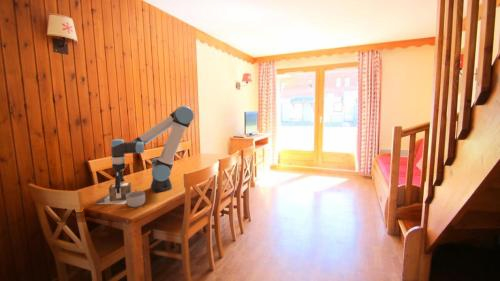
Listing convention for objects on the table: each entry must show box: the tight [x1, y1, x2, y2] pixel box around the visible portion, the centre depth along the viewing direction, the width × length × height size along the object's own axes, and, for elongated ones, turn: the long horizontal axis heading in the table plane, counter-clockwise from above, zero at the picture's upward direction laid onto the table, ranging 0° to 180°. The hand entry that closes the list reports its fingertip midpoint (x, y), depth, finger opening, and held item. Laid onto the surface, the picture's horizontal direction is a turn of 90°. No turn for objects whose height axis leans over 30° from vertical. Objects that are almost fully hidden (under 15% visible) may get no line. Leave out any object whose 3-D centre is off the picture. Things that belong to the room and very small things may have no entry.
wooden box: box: [108, 182, 132, 201], centre depth 167 cm, size 12×8×9 cm, turn 109°
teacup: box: [126, 190, 146, 208], centre depth 157 cm, size 14×11×8 cm
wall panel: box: [94, 193, 127, 205], centre depth 168 cm, size 18×20×2 cm
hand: (120, 194), depth 168 cm, fingers open, 13 cm apart
